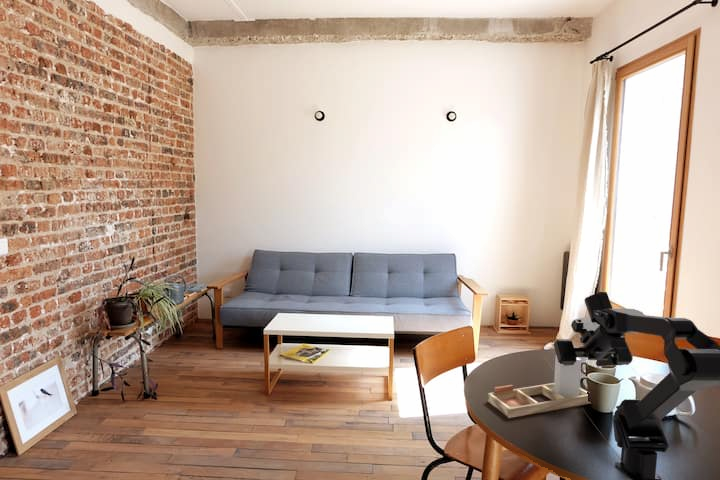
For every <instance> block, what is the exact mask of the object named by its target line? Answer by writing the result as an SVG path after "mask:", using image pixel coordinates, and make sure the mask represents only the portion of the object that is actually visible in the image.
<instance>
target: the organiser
mask: <svg viewBox="0 0 720 480" xmlns="http://www.w3.org/2000/svg"><path fill="white" fill-rule="evenodd" d="M587 392H588V391H587V390H585V389H583V388H581V387H580V389H579V396H575V397H569V398H564V397H563V396H561V395H559V394H558V393H556V392H554V382H552V383H544V384H538V385H531V386H525V387H524V386H523V387H519V388H514V385H513V384H507V385H502V386H501V385H500V386H494V388H493V392H488V393H487V402H488V403H489V404H491V405H492V406H493V407H494V408H495V409H497V410H498V411H500V412H501V414H503V415H505V416H506V417H507V418H508V419H511V418H517V417H523V416H529V415H533V414H539V413H545V412H550V411H555V410H562V409H567V408H574V407H578V406H585V405H588V404H592V403H591V402H589V401H588V394H587ZM537 395H543V396H545V397H547V398H548V399H550V400H546V401H541V402H538V401H537V400H536V399H534V398H532V397H531V396H537Z"/></svg>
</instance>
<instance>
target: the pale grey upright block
mask: <svg viewBox="0 0 720 480" xmlns="http://www.w3.org/2000/svg"><path fill="white" fill-rule="evenodd" d="M554 363H555V364H554V378H553V379H554V380H553V383H554V392H556V393H558V394H559V395H561V396H563V397H564V398H569V397H575V396H579V389H580V388H581V387H580V385H581V373H582V359H581V358H577V359H576V362H575V363H574V365H569V366H564V365H563V364H560V363H559V362H558V359H557V355H556V354H555V362H554Z"/></svg>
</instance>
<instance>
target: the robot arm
mask: <svg viewBox="0 0 720 480" xmlns="http://www.w3.org/2000/svg"><path fill="white" fill-rule="evenodd" d="M583 301H584V304H585V308H586V310H587V313H588V316H589V317H580V318H575V319H574V320H572V322H571V325H570V327H571V329H572V330H573V333H578V334H580V338H579V341H580V343H581V344H582V347H574V343H573V341H572V340H571V339H570V338H569V339H567V338H566V339H565V338H562V339H561V338H559V339H556V340H555V342H554V343H553V348H554V351H555V356H556V355H557V359H558V362H559V363H560V364H563V365H564V366H569V365H574V363H575V362H576V359H577V358H580V359H581V358H585V359H587V361H588V360H597V362H596V365H597V366H602V367H610V366H611V367H613V366H628V365H630V364H631V363H632V361H633V358H634V357H633V355H632V351H631V349H630V346H629V344H628V342H627V341H626V338H625V337H626V334H646V335H651V336H652V335H653V336H657V337H661V338H662V340H663V341H664V344H663V355H664V357H665V358H666V361H668V362H667V365H668V369H669V372H668V374H667V375H665V376H664V378H663V379H661V380H660V381H659V382H658V383H657V384H656V385H655V386H654V387H653V388H652V389H651V390H650V391H649V392H648V393H647V394H646V395H644V396H643V397H642V398H641V399H635V398H634V399H628V398H627V399H626V398H625V399H623V400H622V401H621V402H620V404H619V405H616V406H615V408H616V410H615V412H614V414H613V416H612V425H613V434H614V441H615V442H616V446H617V447H619V448H620V449H621V451H620V452H621V453H620V461H617V462H615V463H614V465H615V467H617V468H618V469H619V470H620V471H621V472H622V473H624V474H625V476H627V477H628V478H629V479H630V480H662V476H660V475H659V474H658V473H657V461H658V453H667V451H668V449H669V443H668V441H667V437H666V436H665V433H664V429H663V426H664V425H663V421H662V420H663V419H664V418H665V417H666V416H667V415H668V414H670V413H671V412H672V411H674V410H675V409H676V408H677V407H678V406H679V405H681V404H682V403H683V402H685V401H686V400H687V399H688V398H689V397H690V396H692V395H693V394H694V393H696V392H697V391H700V390H704V389H709V388H712V387H713V388H714V387H716V386H720V344H719V343H718V342H717V341H715V339H713V338H712V337H710V336H708V335H707V334H706V333H704V332H703V331H701V330H700V329H699V328H698V327H697V325H696V324H695V323H694V322H693V321H692V320H691V319H690V318H689V319H688V318H686V317H667V316H666V317H665V316H657V315H656V316H654V315H646V314H644V312H643V311H640V310H639V309H635V308H613V305H612V303H611V300H610V298H609V295H608V293H607V291H598V292H597V293H594V294H592V295H589V296H586V297H585V298H584V300H583ZM683 339H684V340H686V341H687V343H689V344H690V345H691V346H692V347H694V348H679V347H678V345H677V344H676V342H675V341H676V340H683ZM657 452H658V453H657Z"/></svg>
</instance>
